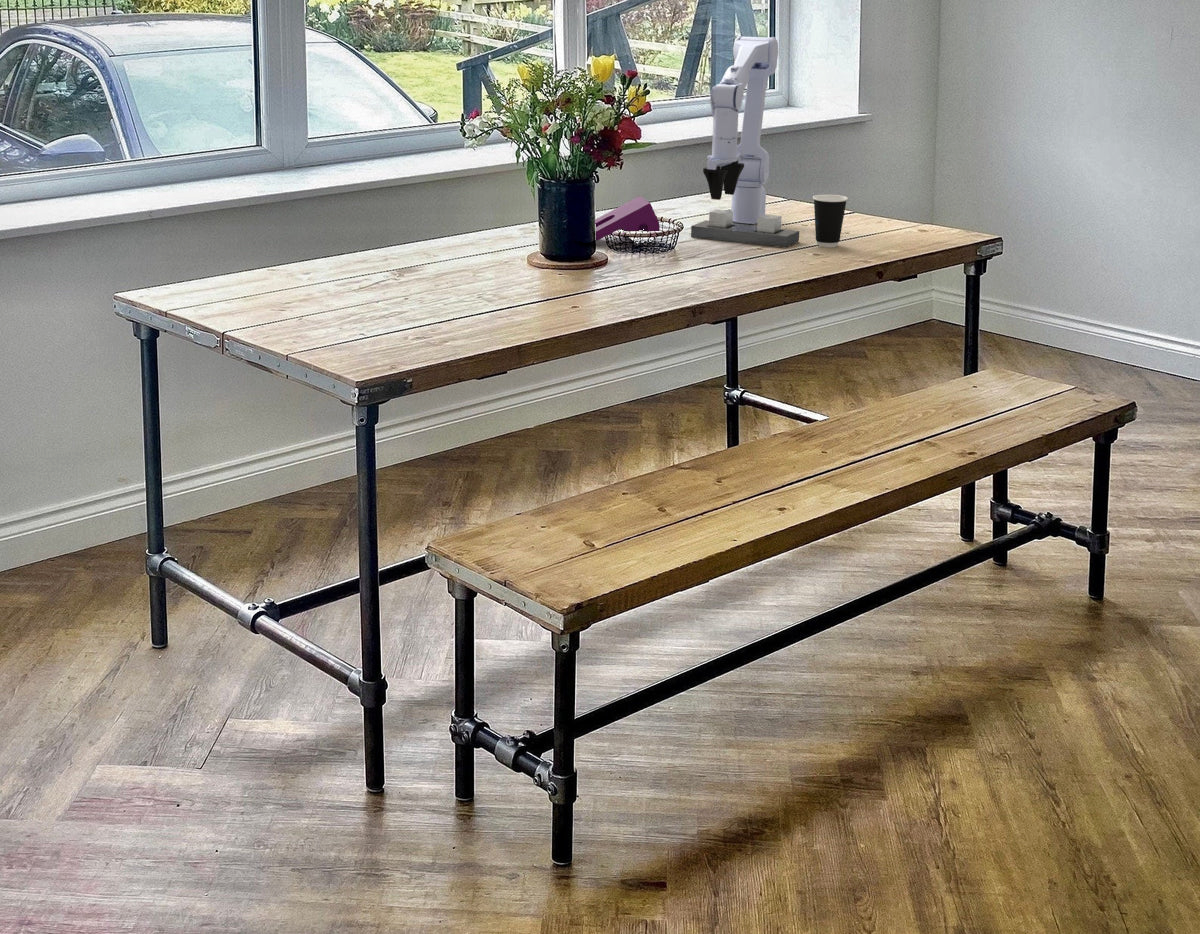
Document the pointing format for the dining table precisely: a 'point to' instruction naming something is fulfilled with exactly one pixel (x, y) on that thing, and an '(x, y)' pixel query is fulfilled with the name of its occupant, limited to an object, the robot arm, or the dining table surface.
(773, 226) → the off-white rectangular block
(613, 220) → the mounting bracket
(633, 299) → the dining table surface
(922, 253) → the dining table surface
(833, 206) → the dixie cup
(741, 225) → the rail
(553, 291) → the dining table surface
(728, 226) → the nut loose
